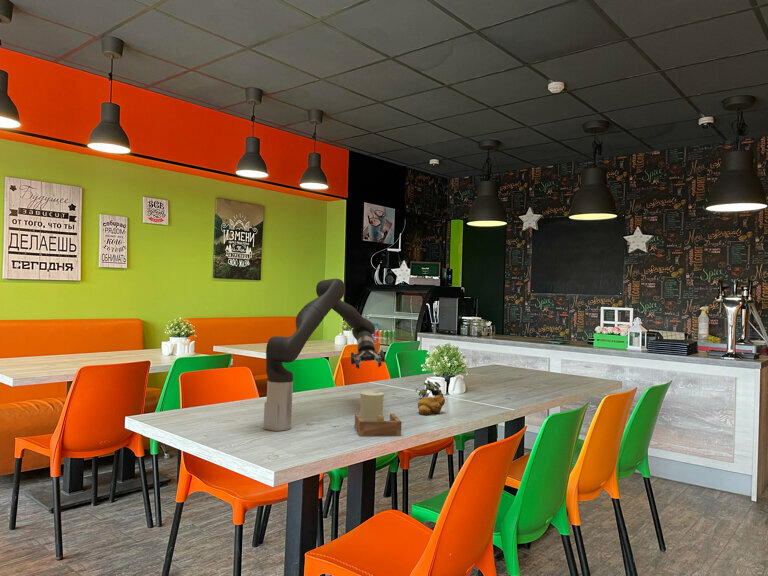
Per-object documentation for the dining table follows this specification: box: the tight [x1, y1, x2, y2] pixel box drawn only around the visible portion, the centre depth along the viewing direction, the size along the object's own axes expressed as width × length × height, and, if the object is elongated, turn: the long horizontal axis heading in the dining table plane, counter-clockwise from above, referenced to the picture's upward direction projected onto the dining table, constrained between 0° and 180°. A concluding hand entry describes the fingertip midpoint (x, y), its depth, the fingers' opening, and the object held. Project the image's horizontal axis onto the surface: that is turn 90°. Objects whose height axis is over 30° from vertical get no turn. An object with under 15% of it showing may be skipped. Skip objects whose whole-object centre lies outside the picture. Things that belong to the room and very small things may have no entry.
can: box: [359, 390, 385, 421], centre depth 216 cm, size 9×9×12 cm
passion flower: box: [415, 379, 444, 399], centre depth 269 cm, size 11×11×12 cm
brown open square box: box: [354, 413, 403, 437], centre depth 202 cm, size 14×15×7 cm
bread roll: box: [417, 395, 446, 415], centre depth 238 cm, size 13×10×8 cm
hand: (368, 366), depth 226 cm, fingers open, 8 cm apart
